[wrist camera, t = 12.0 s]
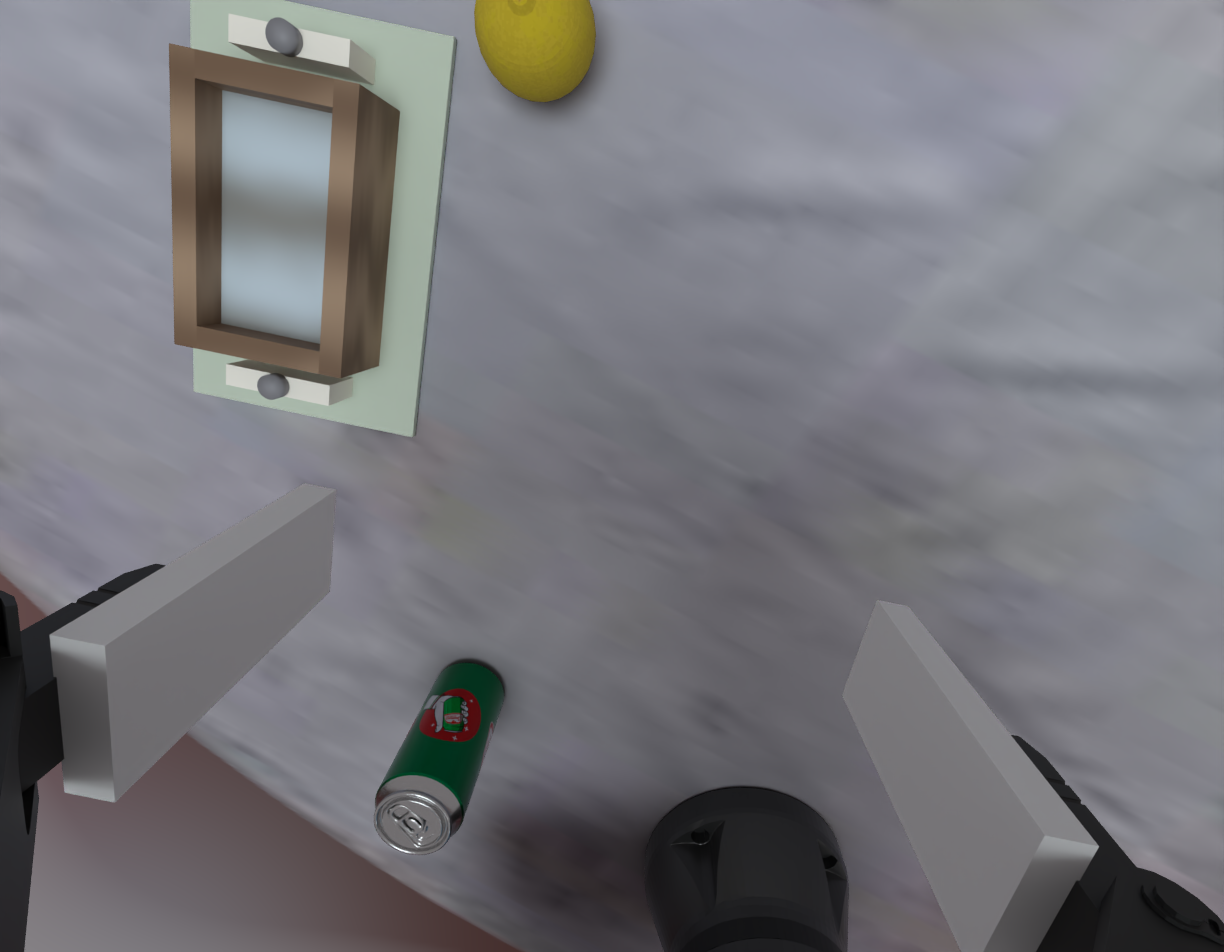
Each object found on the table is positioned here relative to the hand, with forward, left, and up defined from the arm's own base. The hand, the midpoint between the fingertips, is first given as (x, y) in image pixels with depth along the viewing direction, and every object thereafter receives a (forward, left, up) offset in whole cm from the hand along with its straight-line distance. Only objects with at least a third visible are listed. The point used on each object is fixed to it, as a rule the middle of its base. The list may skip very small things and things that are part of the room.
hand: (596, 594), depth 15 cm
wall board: (+6, +20, -25) cm, 32 cm away
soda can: (-23, +7, -25) cm, 35 cm away
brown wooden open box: (+6, +20, -24) cm, 32 cm away
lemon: (+17, +8, -25) cm, 31 cm away
